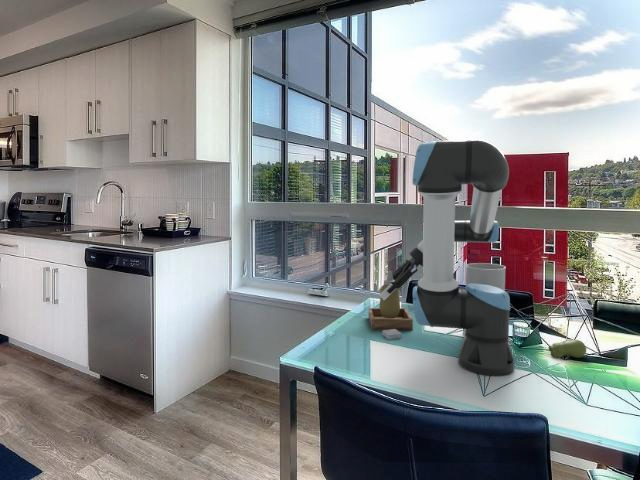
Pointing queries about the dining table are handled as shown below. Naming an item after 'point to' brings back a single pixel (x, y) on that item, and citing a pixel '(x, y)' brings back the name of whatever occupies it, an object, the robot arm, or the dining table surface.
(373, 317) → the tray
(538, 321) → the dining table surface
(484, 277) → the cylinder vase
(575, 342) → the pear
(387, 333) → the grey flat block
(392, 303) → the squeeze bottle
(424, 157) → the robot arm
